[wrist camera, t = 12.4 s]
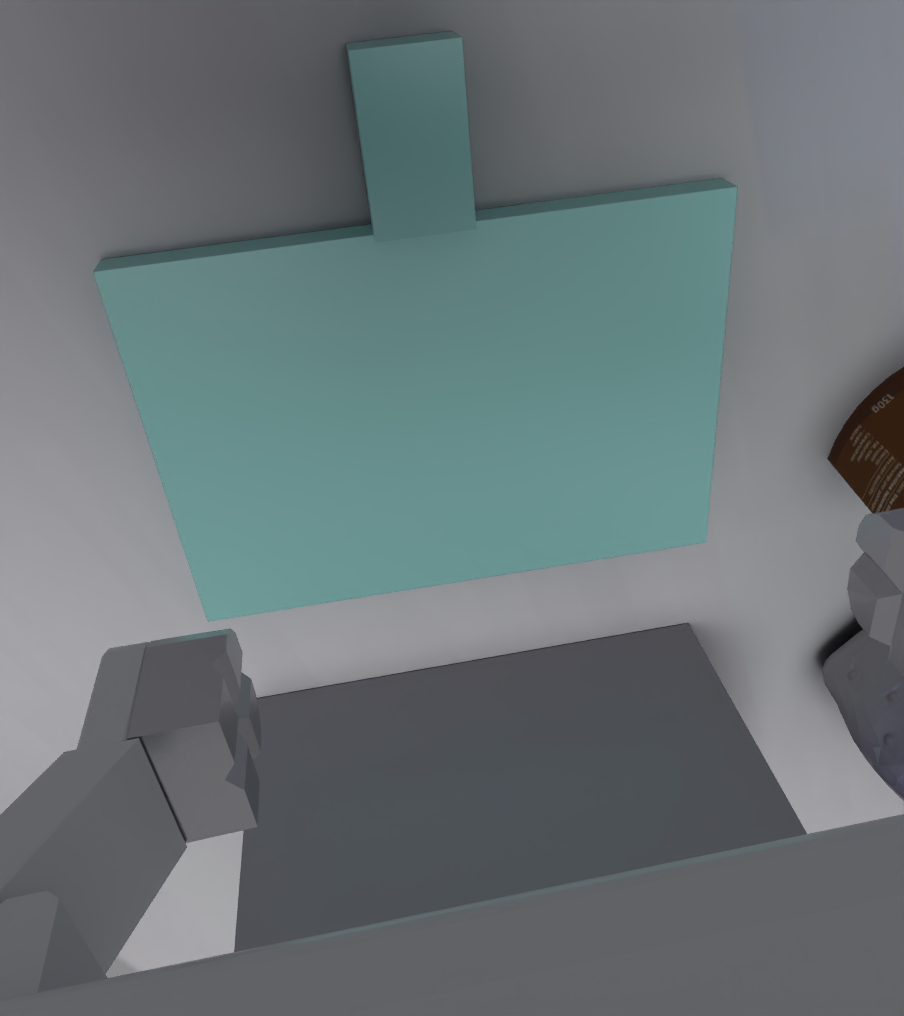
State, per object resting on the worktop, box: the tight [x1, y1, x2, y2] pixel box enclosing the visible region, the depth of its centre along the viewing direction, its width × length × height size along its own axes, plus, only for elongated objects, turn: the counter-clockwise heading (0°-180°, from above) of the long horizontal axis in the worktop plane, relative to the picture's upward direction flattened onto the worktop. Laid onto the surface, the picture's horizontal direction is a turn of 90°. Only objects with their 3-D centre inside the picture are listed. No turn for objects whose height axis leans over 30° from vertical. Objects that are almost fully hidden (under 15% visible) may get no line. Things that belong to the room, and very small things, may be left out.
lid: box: [93, 31, 738, 621], centre depth 29 cm, size 19×20×2 cm
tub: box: [234, 623, 807, 952], centre depth 36 cm, size 13×19×12 cm
